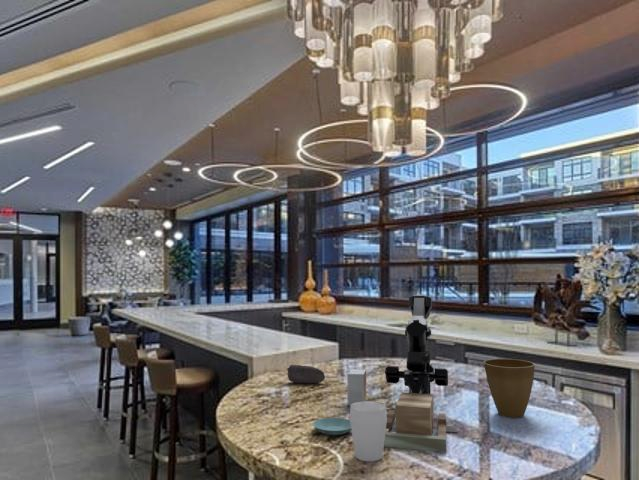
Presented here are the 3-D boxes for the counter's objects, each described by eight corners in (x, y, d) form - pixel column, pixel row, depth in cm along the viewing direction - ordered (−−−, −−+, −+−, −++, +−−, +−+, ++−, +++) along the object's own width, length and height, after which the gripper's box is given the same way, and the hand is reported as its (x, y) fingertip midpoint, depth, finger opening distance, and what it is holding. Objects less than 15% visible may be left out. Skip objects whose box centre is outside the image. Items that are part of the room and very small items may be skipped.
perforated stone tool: (326, 382, 191) (326, 365, 192) (323, 385, 186) (323, 367, 187) (290, 380, 195) (290, 363, 195) (286, 383, 190) (286, 366, 190)
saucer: (313, 424, 140) (313, 416, 141) (354, 425, 140) (354, 417, 140) (312, 439, 129) (312, 430, 129) (355, 439, 128) (355, 430, 128)
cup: (347, 450, 120) (347, 401, 121) (382, 448, 121) (382, 400, 122) (353, 464, 111) (352, 412, 112) (391, 463, 112) (390, 411, 113)
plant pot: (533, 409, 153) (532, 359, 154) (538, 424, 139) (537, 368, 140) (485, 405, 158) (483, 356, 159) (485, 419, 144) (483, 365, 145)
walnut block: (402, 423, 141) (401, 392, 141) (433, 426, 138) (433, 394, 139) (396, 439, 127) (395, 405, 128) (430, 443, 125) (429, 408, 125)
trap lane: (379, 415, 148) (379, 405, 148) (456, 421, 142) (455, 410, 143) (366, 444, 124) (366, 433, 124) (458, 453, 118) (458, 440, 118)
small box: (364, 406, 158) (364, 374, 158) (347, 405, 159) (347, 373, 159) (366, 400, 166) (366, 369, 166) (350, 399, 167) (350, 368, 167)
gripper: (385, 339, 149) (381, 383, 137) (447, 341, 144) (448, 387, 133) (388, 360, 156) (384, 404, 145) (447, 363, 151) (448, 408, 140)
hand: (415, 400), depth 140 cm, fingers closed
